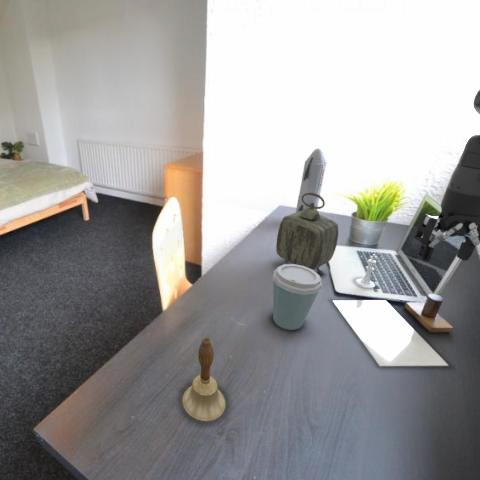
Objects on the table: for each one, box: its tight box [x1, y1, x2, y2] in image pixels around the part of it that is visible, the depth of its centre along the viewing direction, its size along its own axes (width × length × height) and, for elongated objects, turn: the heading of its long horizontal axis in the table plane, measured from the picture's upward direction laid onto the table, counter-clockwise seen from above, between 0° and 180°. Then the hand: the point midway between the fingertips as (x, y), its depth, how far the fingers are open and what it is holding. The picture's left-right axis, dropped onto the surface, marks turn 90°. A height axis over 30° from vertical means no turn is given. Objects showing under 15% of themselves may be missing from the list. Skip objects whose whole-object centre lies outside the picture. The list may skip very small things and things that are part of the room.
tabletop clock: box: [275, 193, 339, 276], centre depth 97 cm, size 14×9×25 cm, turn 34°
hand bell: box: [182, 337, 226, 422], centre depth 59 cm, size 8×8×16 cm
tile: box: [331, 299, 450, 368], centre depth 78 cm, size 14×22×1 cm, turn 179°
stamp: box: [404, 293, 454, 335], centre depth 79 cm, size 9×5×8 cm, turn 179°
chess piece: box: [355, 253, 378, 289], centre depth 93 cm, size 5×5×10 cm
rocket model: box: [295, 148, 327, 213], centre depth 126 cm, size 14×7×30 cm, turn 125°
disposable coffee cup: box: [272, 263, 323, 331], centre depth 78 cm, size 11×11×15 cm
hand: (442, 259), depth 73 cm, fingers open, 8 cm apart
